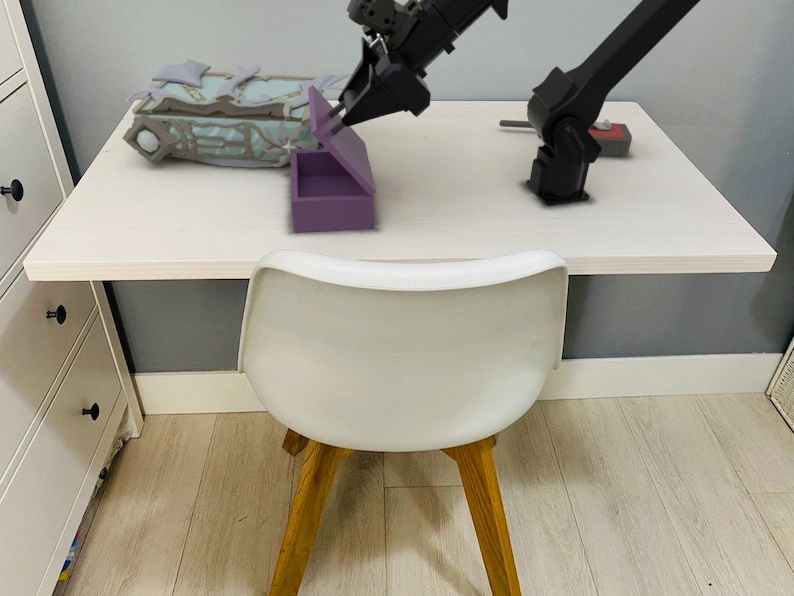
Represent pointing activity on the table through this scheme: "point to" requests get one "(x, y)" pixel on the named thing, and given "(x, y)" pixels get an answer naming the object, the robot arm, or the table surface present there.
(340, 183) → the box
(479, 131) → the table surface
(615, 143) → the walkie-talkie
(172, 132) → the ornate book
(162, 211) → the table surface
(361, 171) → the lid
